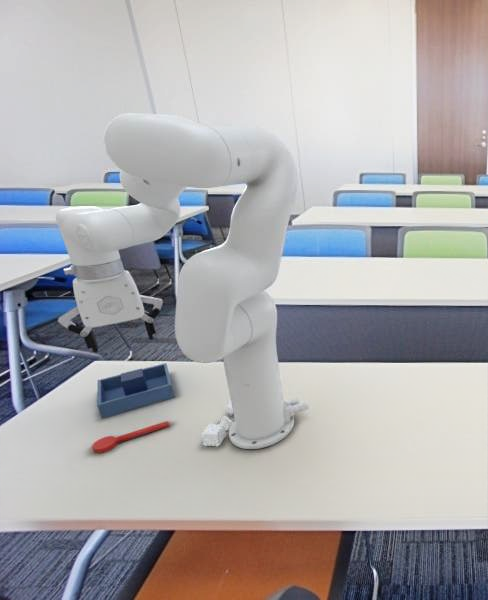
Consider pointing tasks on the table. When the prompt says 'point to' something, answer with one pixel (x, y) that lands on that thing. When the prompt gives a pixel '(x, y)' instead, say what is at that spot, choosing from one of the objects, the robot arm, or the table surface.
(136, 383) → the blue block
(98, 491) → the table surface
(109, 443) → the red spoon
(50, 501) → the table surface
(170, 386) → the blue tray
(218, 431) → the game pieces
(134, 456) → the table surface
